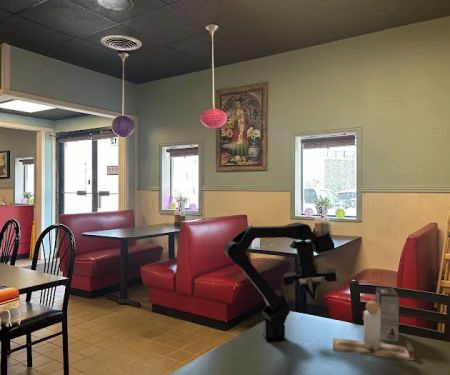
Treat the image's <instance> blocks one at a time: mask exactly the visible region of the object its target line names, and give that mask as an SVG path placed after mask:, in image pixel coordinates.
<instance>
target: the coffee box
mask: <svg viewBox="0 0 450 375" xmlns="http://www.w3.org/2000/svg"><path fill="white" fill-rule="evenodd" d="M375 302H376V303H377V304H378V305H379V310H378V312H380V313H381V318H380V341H387V342H397V341H398V342H399V320H400V319H399V315H400V314H399V312H400V307H399V306H400V295H399V294H398V292H397V291H396V289H395V288H394V287H378V286H377V287H375Z"/></svg>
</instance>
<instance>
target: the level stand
mask: <svg viewBox="0 0 450 375" xmlns="http://www.w3.org/2000/svg"><path fill="white" fill-rule="evenodd" d="M332 351H335V352H337V351H338V352H343V353H344V352H345V353H353V354H360V355H368V356H375V357H376V356H377V357H383V358H391V359H401V360H407V361H415V350H414V348H413V346H412V342H411V341H410V340H405V345H395V344H387V343H381V342H380V349H377V350H373V347H371V349H368V348H366V347H365V346H364V340H362V341H361V340H354V339H353V340H352V339H345V338H344V339H343V338H337V337H333V338H332Z"/></svg>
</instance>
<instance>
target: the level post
mask: <svg viewBox="0 0 450 375" xmlns="http://www.w3.org/2000/svg"><path fill="white" fill-rule="evenodd" d="M378 310H379V305H378V304H377V303H376V300H369V301H367V302H366V303H365V310H364V311H363V341H364V346H365V347H366V348H368V349H371V347H373V350H377V349H380V343H381V340H380V318H381V313H380V312H378Z"/></svg>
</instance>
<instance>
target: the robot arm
mask: <svg viewBox="0 0 450 375" xmlns="http://www.w3.org/2000/svg"><path fill="white" fill-rule="evenodd" d="M275 238H276V239H278V238H286V239H287V238H288V239H292V240H293V241H292V242H291V244H290V245H289V248H291V249H292V250H295V249H296V254H297V265H298V269H299V271H300V274H296V272H295V271H292V272H285V273H284V275H283V277H282V284H283V286H290V285H291V286H292V285H293V284H294V283H295V281H299V286H300V287H302V288H303V289H304V290H305V291H306V292H307V293H308V295H309V296H310V298H311V300H312V301H316V297H317V289H318V286H319V285H321V284H322V281H323V280H322V279H324V280H325V281H326V282H336V281H337V282H338V275H339V274H338V270H337V269H336V268H325V269H324V272H319V267H318V260H317V261H316V259H315V253H316V254H317V255H322V254H325V253H326V254H327V253H329V252H334V250H335V242H334V240H333V238H332V237H331V236H330V233H329V232H327V231H326V232H323V233H321V234H318V235H316V233H314V232H313V231H312V228H311V226H310V225H309V224H306V223H303V222H300V221H299V222H298V221H297V222H294V223H288V224H285V225H272V226H271V225H270V226H267V225H264V226H252V225H248V226H246V227H245V228H244V229H243V230H242V231H241V232H240V233H238V234H237V235H235V236H234V238H232V239H231V240H230V241H227V242H226V243H225V244H224V245H223V253H224V254H225V256H227V257H228V259H230V260H231V261H232V262H233V263H234V264H235V265H237V266H238V267H239V268H240V269H241V270H242V272H243V273H244V274H245V275H246V277H247V278H248V279H249V281H250V282H251V283H252V284H253V285H254V287H255V288H256V289H257V290H258V292H259V293H260V294H261V296H262V297H263V300H264V302H265V304H266V305H265V307H264V308H263V309H262V310H261V313H262V316H263V318H264V319H263V332H262V337H263V338H264V340H265V342H268V343H269V342H270V343H271V342H283V341H286V339H285V336H286V325H285V323H286V320H287V317H288V316H289V314H290V311H291V307H290V305H289V304H290V302H289V301H288V300H287V299H286V298H285V296H284V294H283V293H281V292H280V291H279V290H278V289H275V291H274V290H273V289H272V287H270V285H269V284H268V282H267V281H266V280H265V279H264V277H262V275H261V274H260V272H258V270H257V268H256V267H255V266H254V265H253V264H252V262H251V261H250V259H249V256H248V254H247V250H248V249H249V248H250V247H251V244H252V243H253V242H254V240H255V239H275ZM296 240H298V241H296ZM311 280H312V283H311Z"/></svg>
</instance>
